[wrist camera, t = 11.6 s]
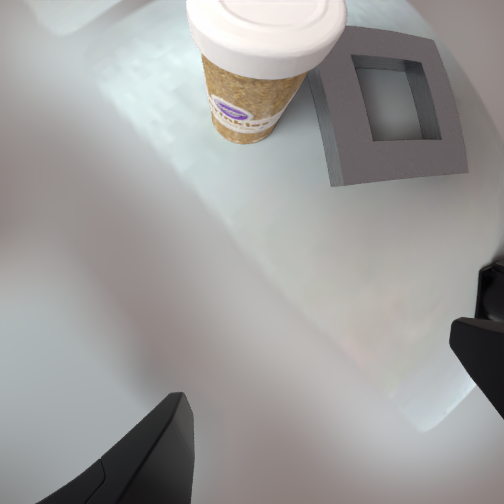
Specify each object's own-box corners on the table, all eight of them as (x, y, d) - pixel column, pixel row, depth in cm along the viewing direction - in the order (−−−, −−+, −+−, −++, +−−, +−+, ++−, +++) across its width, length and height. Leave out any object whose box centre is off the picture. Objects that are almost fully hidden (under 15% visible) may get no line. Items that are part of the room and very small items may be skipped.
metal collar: (450, 173, 20) (468, 172, 18) (330, 186, 20) (344, 185, 17) (418, 49, 18) (433, 40, 15) (297, 39, 17) (304, 23, 15)
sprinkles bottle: (204, 138, 18) (158, 38, 5) (221, 80, 18) (211, -60, 4) (270, 152, 19) (343, 76, 6) (284, 94, 18) (356, -28, 5)
